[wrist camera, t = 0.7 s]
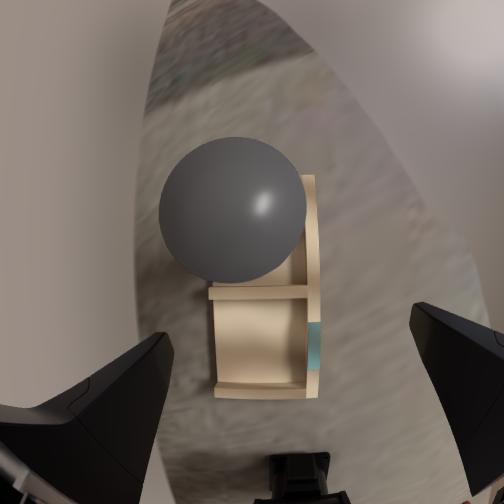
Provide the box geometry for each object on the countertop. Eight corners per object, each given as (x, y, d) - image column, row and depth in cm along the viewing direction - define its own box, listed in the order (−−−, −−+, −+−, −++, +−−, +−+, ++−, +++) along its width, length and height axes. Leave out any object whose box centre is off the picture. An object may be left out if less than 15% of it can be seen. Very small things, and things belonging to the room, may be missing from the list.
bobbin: (293, 272, 23) (310, 281, 10) (223, 274, 24) (159, 284, 11) (290, 202, 23) (300, 133, 10) (222, 206, 24) (162, 146, 11)
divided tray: (314, 386, 23) (318, 399, 20) (220, 386, 24) (213, 399, 21) (311, 183, 24) (314, 173, 21) (214, 188, 25) (206, 179, 22)
